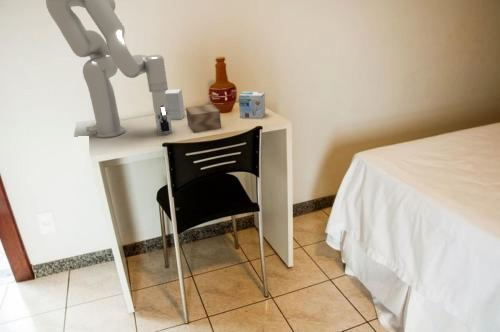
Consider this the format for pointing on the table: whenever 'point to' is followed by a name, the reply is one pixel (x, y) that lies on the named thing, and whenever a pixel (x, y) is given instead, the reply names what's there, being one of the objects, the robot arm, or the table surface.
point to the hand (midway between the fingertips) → (164, 128)
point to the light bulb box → (252, 104)
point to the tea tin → (160, 125)
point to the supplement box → (175, 104)
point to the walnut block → (203, 118)
